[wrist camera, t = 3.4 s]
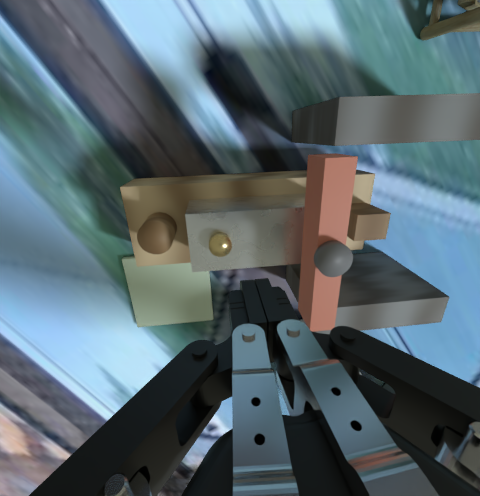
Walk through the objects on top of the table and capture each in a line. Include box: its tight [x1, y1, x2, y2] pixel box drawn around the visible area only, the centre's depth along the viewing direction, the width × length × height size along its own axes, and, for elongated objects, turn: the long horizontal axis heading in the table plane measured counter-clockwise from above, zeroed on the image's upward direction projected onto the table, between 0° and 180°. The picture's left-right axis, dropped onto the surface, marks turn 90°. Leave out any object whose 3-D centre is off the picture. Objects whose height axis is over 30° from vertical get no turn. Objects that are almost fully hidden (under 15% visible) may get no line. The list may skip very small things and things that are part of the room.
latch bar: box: [298, 154, 358, 332], centre depth 19 cm, size 2×13×4 cm, turn 2°
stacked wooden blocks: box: [120, 93, 480, 334], centre depth 26 cm, size 30×20×11 cm, turn 92°
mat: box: [122, 256, 213, 327], centre depth 33 cm, size 10×10×1 cm
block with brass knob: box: [185, 193, 306, 272], centre depth 23 cm, size 12×5×6 cm, turn 92°
